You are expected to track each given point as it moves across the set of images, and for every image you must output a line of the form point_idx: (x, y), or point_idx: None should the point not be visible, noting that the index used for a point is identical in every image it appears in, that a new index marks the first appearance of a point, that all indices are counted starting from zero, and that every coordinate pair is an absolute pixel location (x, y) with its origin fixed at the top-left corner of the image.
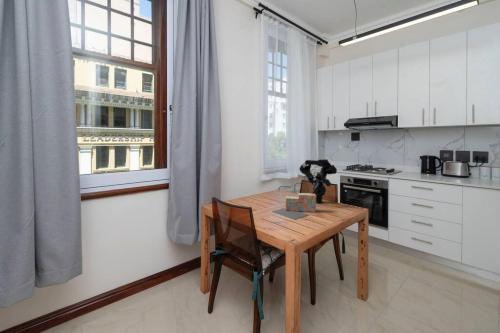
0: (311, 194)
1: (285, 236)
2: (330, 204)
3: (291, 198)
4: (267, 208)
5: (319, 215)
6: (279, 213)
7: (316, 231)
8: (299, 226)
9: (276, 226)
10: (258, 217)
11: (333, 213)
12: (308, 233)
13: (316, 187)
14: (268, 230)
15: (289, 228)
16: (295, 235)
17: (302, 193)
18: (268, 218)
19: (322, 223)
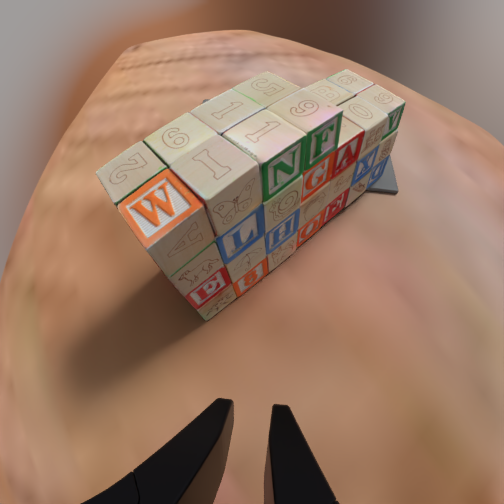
0: (166, 170)
1: (159, 44)
2: None
3: (318, 81)
4: (438, 135)
5: (115, 227)
6: None
7: (92, 97)
8: (152, 82)
9: (219, 49)
10: (334, 56)
11: (54, 335)
12: (111, 78)
13: (172, 450)
14: (218, 35)
15: (174, 61)
16: (139, 56)
17: (291, 124)
18: (300, 63)
19: (80, 149)
